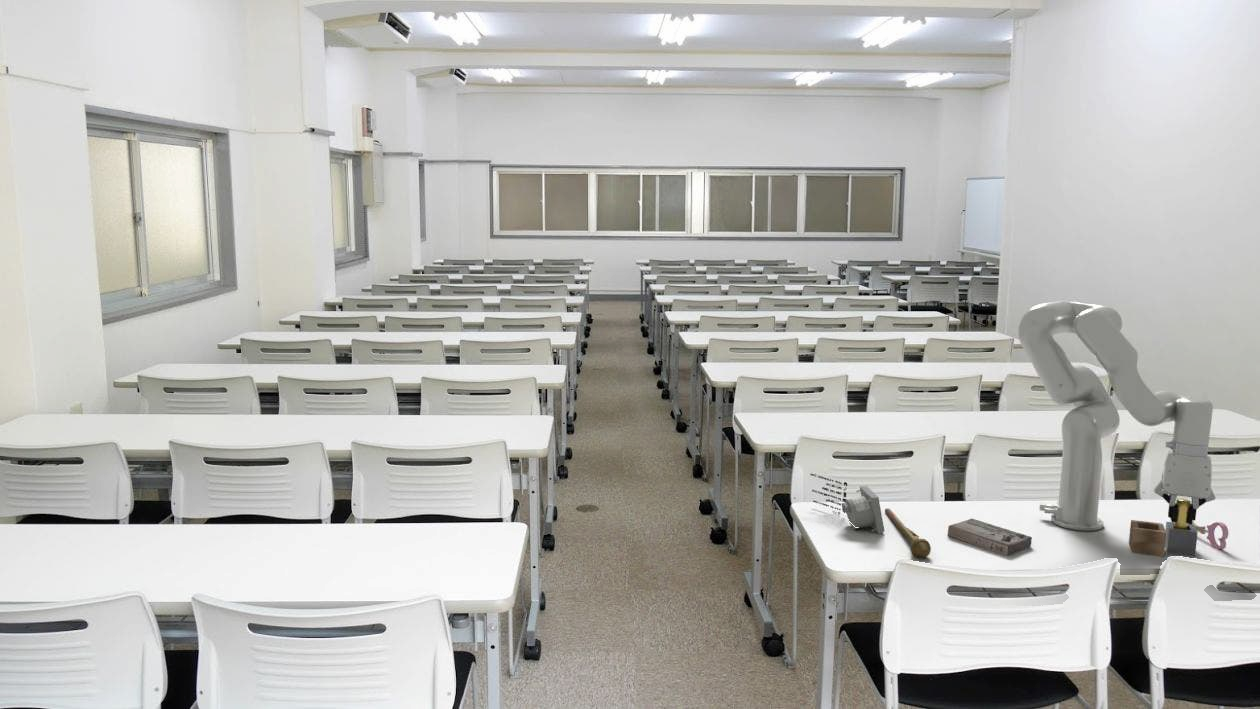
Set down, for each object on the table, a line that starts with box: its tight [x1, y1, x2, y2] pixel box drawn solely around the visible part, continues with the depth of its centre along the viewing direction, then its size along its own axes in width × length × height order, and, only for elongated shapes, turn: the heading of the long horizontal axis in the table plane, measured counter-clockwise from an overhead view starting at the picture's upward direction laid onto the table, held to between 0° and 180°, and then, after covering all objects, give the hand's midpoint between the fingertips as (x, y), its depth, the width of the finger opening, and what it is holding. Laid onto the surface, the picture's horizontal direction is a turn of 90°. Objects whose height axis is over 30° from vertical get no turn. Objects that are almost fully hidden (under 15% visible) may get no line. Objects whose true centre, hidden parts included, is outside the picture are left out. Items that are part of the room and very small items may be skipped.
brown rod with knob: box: [884, 507, 932, 559], centre depth 249 cm, size 5×35×5 cm
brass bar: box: [1174, 498, 1191, 530], centre depth 238 cm, size 3×3×12 cm
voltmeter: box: [809, 473, 885, 535], centre depth 259 cm, size 27×11×10 cm, turn 40°
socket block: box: [1165, 521, 1199, 557], centre depth 239 cm, size 6×6×6 cm
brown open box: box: [1128, 519, 1166, 557], centre depth 239 cm, size 7×7×6 cm
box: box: [947, 518, 1033, 557], centre depth 245 cm, size 11×17×3 cm, turn 38°
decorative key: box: [1192, 520, 1229, 550], centre depth 248 cm, size 7×1×20 cm
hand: (1181, 520), depth 238 cm, fingers closed on brass bar, 3 cm apart
